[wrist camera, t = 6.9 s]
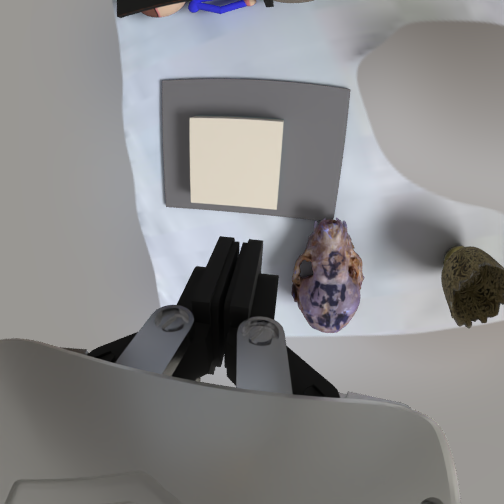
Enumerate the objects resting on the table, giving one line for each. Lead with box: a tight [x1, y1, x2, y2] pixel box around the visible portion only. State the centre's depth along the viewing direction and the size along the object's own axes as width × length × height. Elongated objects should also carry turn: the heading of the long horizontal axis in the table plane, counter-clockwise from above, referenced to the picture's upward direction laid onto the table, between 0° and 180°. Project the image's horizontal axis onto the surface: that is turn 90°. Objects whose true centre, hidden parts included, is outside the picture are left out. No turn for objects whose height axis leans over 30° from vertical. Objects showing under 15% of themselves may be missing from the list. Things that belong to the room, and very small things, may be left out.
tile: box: [190, 115, 284, 210], centre depth 28 cm, size 8×2×8 cm
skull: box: [292, 218, 364, 333], centre depth 31 cm, size 12×8×6 cm, turn 177°
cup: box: [441, 246, 504, 328], centre depth 28 cm, size 8×7×8 cm
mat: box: [162, 79, 350, 221], centre depth 28 cm, size 13×17×1 cm
